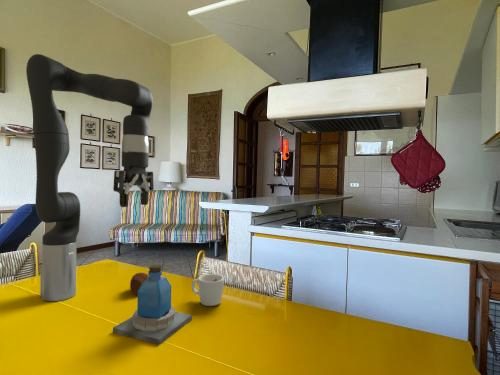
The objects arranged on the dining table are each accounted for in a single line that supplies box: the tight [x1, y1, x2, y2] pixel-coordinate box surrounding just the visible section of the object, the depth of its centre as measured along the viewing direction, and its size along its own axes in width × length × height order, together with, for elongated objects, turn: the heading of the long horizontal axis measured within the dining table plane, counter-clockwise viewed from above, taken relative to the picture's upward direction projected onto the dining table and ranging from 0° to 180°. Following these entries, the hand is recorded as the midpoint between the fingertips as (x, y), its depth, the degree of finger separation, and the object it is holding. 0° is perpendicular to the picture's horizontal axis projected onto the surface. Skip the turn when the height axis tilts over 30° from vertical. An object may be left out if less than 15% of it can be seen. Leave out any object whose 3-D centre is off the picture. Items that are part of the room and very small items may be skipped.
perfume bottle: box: [136, 264, 172, 318], centre depth 81 cm, size 6×6×12 cm
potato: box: [129, 272, 149, 295], centre depth 105 cm, size 7×9×6 cm
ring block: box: [112, 305, 193, 345], centre depth 81 cm, size 14×14×4 cm
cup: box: [191, 273, 225, 307], centre depth 97 cm, size 11×8×8 cm
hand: (134, 205), depth 93 cm, fingers open, 8 cm apart
